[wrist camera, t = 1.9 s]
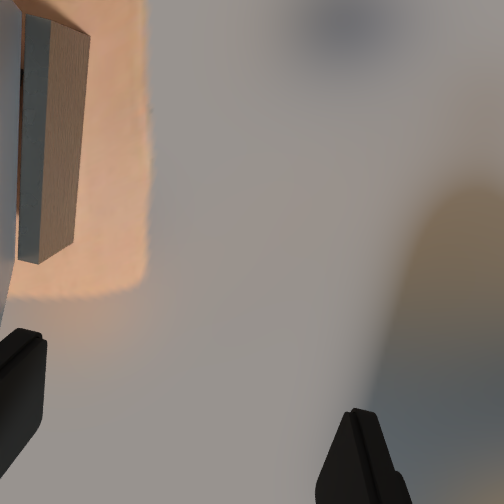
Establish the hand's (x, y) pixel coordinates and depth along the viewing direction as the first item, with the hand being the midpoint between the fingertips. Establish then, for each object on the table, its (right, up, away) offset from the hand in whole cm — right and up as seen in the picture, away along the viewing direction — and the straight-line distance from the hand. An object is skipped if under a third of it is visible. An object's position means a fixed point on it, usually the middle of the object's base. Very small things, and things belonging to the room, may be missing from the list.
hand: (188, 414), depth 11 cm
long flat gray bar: (-17, +15, +30) cm, 37 cm away
